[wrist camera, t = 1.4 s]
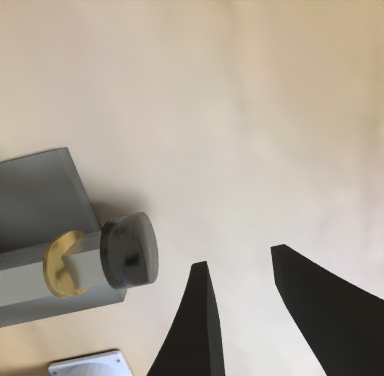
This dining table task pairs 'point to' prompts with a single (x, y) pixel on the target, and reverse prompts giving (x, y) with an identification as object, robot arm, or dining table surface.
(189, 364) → the robot arm
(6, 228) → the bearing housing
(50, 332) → the dining table surface
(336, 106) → the dining table surface
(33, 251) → the shaft
